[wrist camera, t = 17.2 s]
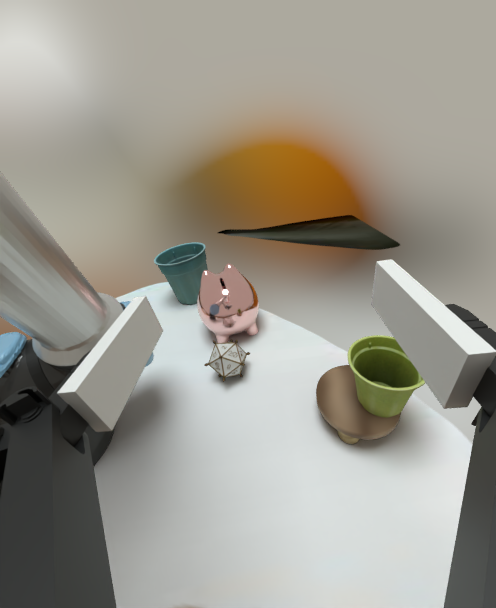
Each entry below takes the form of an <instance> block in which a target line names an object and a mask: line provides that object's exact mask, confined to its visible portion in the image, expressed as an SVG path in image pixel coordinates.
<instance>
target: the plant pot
mask: <svg viewBox="0 0 496 608" xmlns="http://www.w3.org/2000/svg"><path fill="white" fill-rule="evenodd" d="M348 362H349V365H350V367H351V369H352V371H353V372H354V375H355V382H356V389H357V397H358V400H359V402H360V403H361V404H362V406H363V407H364V408H365V409H366V410H367V411H368V412H370V413H372V414H374V415H376V416H379V417H386V418H388V417H392V416H395V415H397V414H399V413H400V412H401V411H402V410H403V408H404V406H405V404H406V403H407V401H408V399H409V398H410V396H411V395H412V393H413V391H414V390H415V389H417V388H419V387H421V386H422V385H424V384H425V383H426V382H425V381H424V380H423V378H422V377H421V375H420V374H419V372H418V371H417V369H416V368H415V367H414V365H413V364H412V362H411V361H410V359H409V358H408V357H407V355H406V354H405V352H404V351H403V349H402V348H401V346H400V345H399V344H398V342H397V341H396V339H395V338H394V337H389V336H378V335H377V336H368V337H364V338H361V339H359V340H357V341H356V342H354V343H353V344H352V345H351V347H350V348H349V351H348ZM381 385H383V386H381Z"/></svg>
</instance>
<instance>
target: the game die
mask: <svg viewBox="0 0 496 608" xmlns="http://www.w3.org/2000/svg"><path fill="white" fill-rule="evenodd" d="M237 342H238V340H236V341H235V343H233V340H230V342H228V343H216V342H215V341H214V340H213V343H214V344H215V346H214V349H213V352H212V355H211V357H210V360H209V363H207V364H205V366H208V365H209V366H211V367H212V368H213V369H214V370H215V371H217V372H218V373H219V377H221V376H223V382H224V381H225V377H230V376H235V375H240V377H243V375H242V374H241V371H242V368H243V366H244V365H245V364H244V361H245V358H246V355H249V354H250V353H249V352H248V353H245V352H244V351H243V350H242V349H241V348H240V347H239V346H238V344H237Z"/></svg>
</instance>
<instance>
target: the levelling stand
mask: <svg viewBox="0 0 496 608" xmlns="http://www.w3.org/2000/svg"><path fill="white" fill-rule="evenodd" d="M381 386H383V385H381ZM316 396H317V404H318V408H319V410H320V412H321V414H322V416H323V417H324V418H325V420H326V421H327V422H328V423H329V424H330V425H331V426H332V427H334V428H335V429H336V430H338V435H339V437H340V439H341V440H342V441H344V442H345V443H348V444H355V443H357V442H358V441H359V439H363V440H372V439H378V438H382V437H384V436H386V435H388V434H389V433H391V432H392V431H393V430H394V429H395V427H396V426H397V424H398V422H399V418H400V415H401V412H400V413H399V414H397V415H395V416H392V417H388V418H386V417H379V416H376V415H374V414H372V413H370V412H368V411H367V410H366V409H365V408H364V407H363V406H362V404H361V403H360V402H359V400H358V397H357V389H356V382H355V375H354V372H353V371H352V369H351V367H350V365H344V366H338V367H335V368H332V369H331V370H329V371H327V372H326V373H325V374H324V375H323V376H322V377H321V378H320V380H319V382H318V384H317V389H316Z"/></svg>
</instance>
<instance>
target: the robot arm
mask: <svg viewBox="0 0 496 608" xmlns="http://www.w3.org/2000/svg"><path fill="white" fill-rule="evenodd" d="M371 305H372V306H373V308H374V309H375V311H376V312H377V313H378V315H379V316H380V318H381V319H382V321H383V322H384V324H385V325H386V326H387V328H388V329H389V331H390V332H391V333H392V335H393V336H394V338H395V339H396V341H397V342H398V344H399V345H400V346H401V348H402V349H403V351H404V352H405V354H406V355H407V357H408V358H409V359H410V361H411V362H412V364H413V365H414V367H415V368H416V369H417V371H418V372H419V374H420V375H421V377H422V378H423V380H424V381H425V382H426V384H427V385H428V386H429V388H430V389H431V391H432V392H433V394H434V395H435V397H436V398H437V400H438V401H439V402H440V404H441V405H442V407H443V408H444V409H446V408H461V407H468V405H469V403H470V401H471V400H472V398H473V397H474V398H475V399H476V400H477V401H478V402H479V404H480V405H481V406H482V407H481V409H480V410H479V412H478V414H477V415H476V417H475V419H474V420H473V422H472V425H474V426H476V429H475V435H474V440H473V446H472V451H471V457H470V463H469V468H468V474H467V479H466V485H465V491H464V496H463V502H462V508H461V513H460V519H459V524H458V530H457V536H456V541H455V547H454V552H453V558H452V564H451V569H450V575H449V580H448V586H447V592H446V597H445V603H444V608H496V332H494V331H493V330H492V329H490V328H488V326H487V325H486V324H484V323H483V322H482V321H479V319H478V318H477V317H476V316H474V315H473V314H472V313H471V312H469V311H468V310H466V309H464V308H461V307H459V306H457V305H455V304H449V305H443V304H442V303H441V302H440V301H439V300H438V299H437V298H435V297H434V296H433V295H432V294H431V293H430V292H429V291H427V290H426V289H425V288H424V287H423V286H422V285H421V284H419V283H418V282H417V281H416V280H415V279H414V278H413V277H411V276H410V275H409V274H408V273H407V272H406V271H405V270H403V269H402V268H401V267H400V266H399V265H398V264H397V263H395V262H394V261H393V260H392V259H391V260H385V261H378V262H376V270H375V277H374V286H373V294H372V303H371ZM0 317H1V318H3V319H5V320H6V321H8V322H9V323H11V324H12V325H14V326H15V327H17V328H18V329H20V330H22V331H23V332H25V333H26V334H28V335H29V336H31V337H32V338H33V339H31V340H27V338H26V336H25V335H22V334H20V333H17V332H12V333H5V334H2V335H0V608H116V602H115V596H114V590H113V584H112V578H111V572H110V566H109V560H108V554H107V548H106V542H105V535H104V529H103V523H102V517H101V511H100V505H99V499H98V493H97V487H96V481H95V475H94V469H93V466H94V465H95V463H96V462H97V461H98V460H99V458H100V457H101V456H102V454H103V453H104V451H105V450H106V448H107V446H108V444H109V442H110V440H111V438H112V435H113V431H114V426H115V424H116V422H117V420H118V418H119V416H120V414H121V413H122V411H123V409H124V407H125V405H126V403H127V401H128V399H129V397H130V395H131V393H132V391H133V389H134V387H135V385H136V383H137V381H138V379H139V377H140V375H141V373H142V371H143V369H144V367H146V366H148V365H149V364H150V363H151V362H152V361H153V357H154V355H153V350H154V348H155V346H156V344H157V342H158V340H159V338H160V336H161V334H162V332H163V329H162V327H161V325H160V323H159V321H158V319H157V317H156V315H155V313H154V311H153V309H152V307H151V305H150V303H149V301H148V299H147V297H146V296H142V297H136V298H133V300H132V301H127V302H121V303H119V302H118V301H117V300H116V299H115V298H114V297H112V296H110V295H107V294H103V293H97V292H96V291H95V290H94V288H93V287H92V286H91V285H90V283H89V282H88V281H87V280H86V278H85V277H84V276H83V275H82V273H81V272H80V271H79V270H78V268H77V267H76V266H75V265H74V263H73V262H72V261H71V259H70V258H69V257H68V256H67V255H66V253H65V252H64V251H63V249H62V248H61V247H60V246H59V244H58V243H57V242H56V241H55V239H54V238H53V237H52V236H51V235H50V233H49V232H48V231H47V229H46V228H45V227H44V226H43V224H42V223H41V222H40V221H39V220H38V218H37V217H36V216H35V214H34V213H33V212H32V211H31V209H30V208H29V207H28V206H27V204H26V203H25V202H24V201H23V199H22V198H21V197H20V196H19V194H18V193H17V192H16V191H15V189H14V188H13V187H12V185H11V184H10V183H9V182H8V180H7V179H6V178H5V177H4V175H3V174H2V173H1V172H0Z"/></svg>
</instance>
